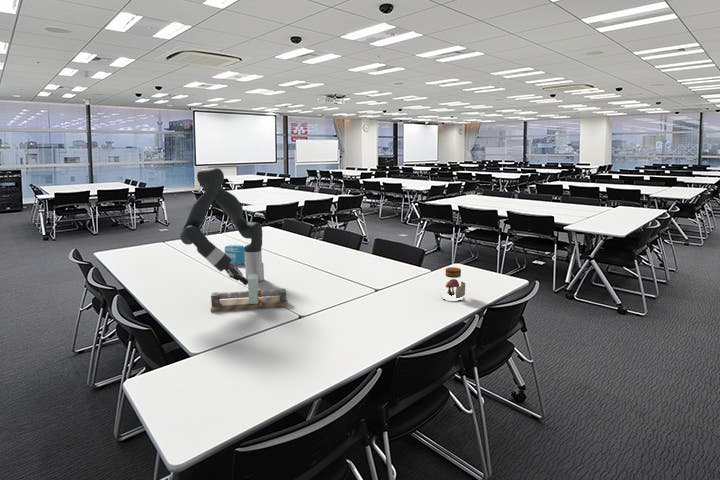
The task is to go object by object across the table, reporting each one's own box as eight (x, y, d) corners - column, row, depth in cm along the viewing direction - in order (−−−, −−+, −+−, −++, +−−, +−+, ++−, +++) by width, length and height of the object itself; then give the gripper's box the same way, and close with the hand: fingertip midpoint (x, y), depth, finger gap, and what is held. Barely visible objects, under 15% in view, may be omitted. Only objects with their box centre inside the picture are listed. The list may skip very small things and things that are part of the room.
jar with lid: (439, 302, 215) (440, 271, 212) (441, 294, 227) (442, 265, 224) (464, 303, 212) (465, 273, 209) (464, 295, 224) (466, 266, 221)
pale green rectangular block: (249, 304, 206) (247, 279, 204) (250, 298, 214) (248, 274, 212) (257, 303, 207) (256, 278, 205) (258, 298, 215) (257, 274, 212)
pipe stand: (210, 311, 202) (209, 296, 200) (214, 303, 213) (213, 288, 212) (286, 307, 208) (286, 292, 206) (286, 299, 219) (285, 284, 218)
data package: (225, 264, 289) (224, 245, 287) (229, 262, 294) (228, 244, 291) (242, 265, 286) (241, 246, 284) (245, 263, 291) (244, 245, 288)
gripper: (222, 256, 197) (252, 281, 202) (225, 250, 210) (253, 273, 215) (210, 268, 198) (240, 293, 202) (215, 261, 210) (243, 285, 215)
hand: (247, 283), depth 208 cm, fingers closed
